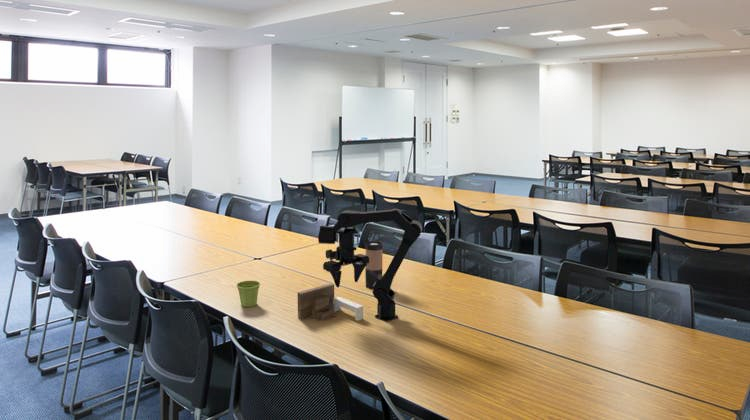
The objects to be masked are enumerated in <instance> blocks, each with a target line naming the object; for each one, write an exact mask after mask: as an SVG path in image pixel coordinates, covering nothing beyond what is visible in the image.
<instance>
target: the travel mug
mask: <svg viewBox="0 0 750 420" xmlns="http://www.w3.org/2000/svg"><path fill="white" fill-rule="evenodd" d="M365 255H367V256H368V257H369V263H368V264H367V266H365V268H364V270H365V288H366V289H369V290H373V289H374V288H372V287H373V285H374V283H375V282H376V280H377V278H378V276H379V274H380V275H382V276H383V242H381V241H377V240H375V241H374V240H373V241H370V240H369V241H367V242H365Z"/></svg>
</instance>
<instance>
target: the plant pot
mask: <svg viewBox="0 0 750 420" xmlns="http://www.w3.org/2000/svg"><path fill="white" fill-rule="evenodd" d="M235 286H236V288H237V290H238V293H239V294H238V296H239V300H240V305H241V306H242V307H246V308H251V307H255V306H256V305H257V304H258V297H259V289H260V286H261V282H260V281H258V280H242V281H240V282H237V283H236V285H235Z"/></svg>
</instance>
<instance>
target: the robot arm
mask: <svg viewBox="0 0 750 420" xmlns="http://www.w3.org/2000/svg"><path fill="white" fill-rule="evenodd" d="M390 221H391V222H392V221H393V222H394V224H396V225H397V226H398V228H400V229H401V230H402V231H403V232H404V233H403V235H402V239H401V242H400V244H399V246H398V248H397V250H396V252H395V254H394V256H393V258H392V260H391V261H390V264H388V267H387V269H386V271H385V273H384V274H382V275H380V274H379V276H378V278H377V280H376V282H375V283H374V285H373V287H372V288H374V289H372V295H373V297H374V298H375V299H376V301H377V307H376V309H377V312H376V313H377V314H375V315H374V317H375V318H377V319H379V320H383V321H384V322H388V321H392V320H394V319H396V318H399V315H398V314H396V302H395V297H396V294H397V293H396V292H395V291H394V290H393V289H392V285H393V281H394V278H395V276H396V274H397V272H398V270H399V269H400V267H401V265H402V263H403V262H404V259H405V257H406V255H407V253H408V251H409V250H410V248H411V247H412V245H414V243H416V241H417V240H418V238H419V237H420V236H421V234H422V231H423V226H422V224H421V222H420V221H419V220H415V219H413V218H411V217H410V216H409V215H407V214H405V213H404V212H403V211H401V210H400V209H399V208H393V209H385V210H371V211H359V210H351V209H350V210H349V209H347V210H343V212H340V214H339V215H338V216H337V221H336V223H335V224H334V225H333V226H332V225H320V226H319V231H318V235H317V239H318V240H317V241H318V243H319V244H322V245H323V244H324V245H335V244H336V243H337V242H338V246H336V248H335V249H336V250H333V249H327V250H325V258H326V259H329V261H324V263H322V269H323V270H324V271H326V272H328V273H330V274H331V277H332V279H333V281H334V285H335V287H336V288H340V284H341V278H342V267H344V266H349V265H352V267H353V278H354V283H358V281H359V279H360V277H361V275H362V273H363V271H364V270H365V266H367V264H368V263H369V257H368V256H367V255H366V254H362V253H357V254H355V251H357V250H358V249H357V247H356V246H355V235H356V234H359V233H360V229H359V228H357V226H358V225H361V224H367V223H368V224H369V223H378V222H379V223H381V222H390ZM342 228H343V229H342Z"/></svg>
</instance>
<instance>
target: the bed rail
mask: <svg viewBox="0 0 750 420" xmlns="http://www.w3.org/2000/svg"><path fill="white" fill-rule="evenodd" d="M341 308H343V309H346V310H348V311H351V312H354V316H355V317H354V319H355V321H360V320H363V319H364V305H361V304H358V303H356V302H354V301H351V300H348V299H346V298H343V297H341V296H337V297H334V298H333V309H334V310H335V312H337V311H340V310H342V309H341Z"/></svg>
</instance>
